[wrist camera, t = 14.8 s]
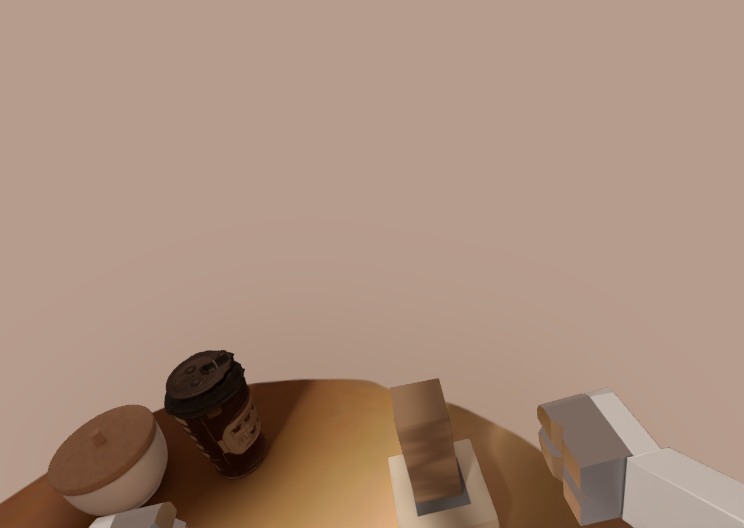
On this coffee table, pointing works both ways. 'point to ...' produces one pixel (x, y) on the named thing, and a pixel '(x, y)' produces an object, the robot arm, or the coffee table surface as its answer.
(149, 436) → the lidded jar
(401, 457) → the birch plinth
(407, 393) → the walnut pillar
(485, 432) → the coffee table surface
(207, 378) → the coffee cup
